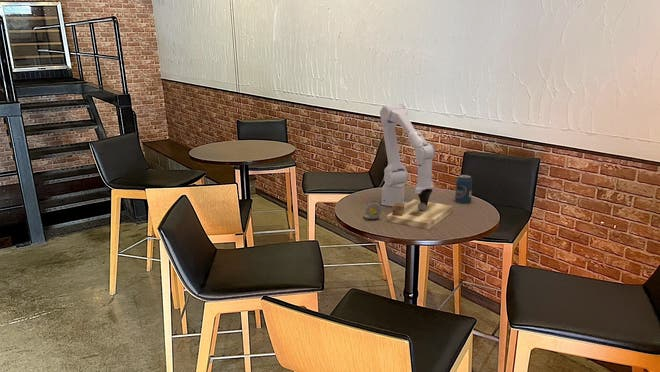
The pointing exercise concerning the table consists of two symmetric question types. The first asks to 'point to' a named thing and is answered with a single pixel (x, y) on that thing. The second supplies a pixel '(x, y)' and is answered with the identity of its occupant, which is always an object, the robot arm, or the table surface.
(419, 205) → the ball
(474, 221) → the table surface
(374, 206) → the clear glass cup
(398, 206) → the walnut cube
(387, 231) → the table surface
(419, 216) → the deck
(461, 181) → the soda can
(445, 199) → the table surface
